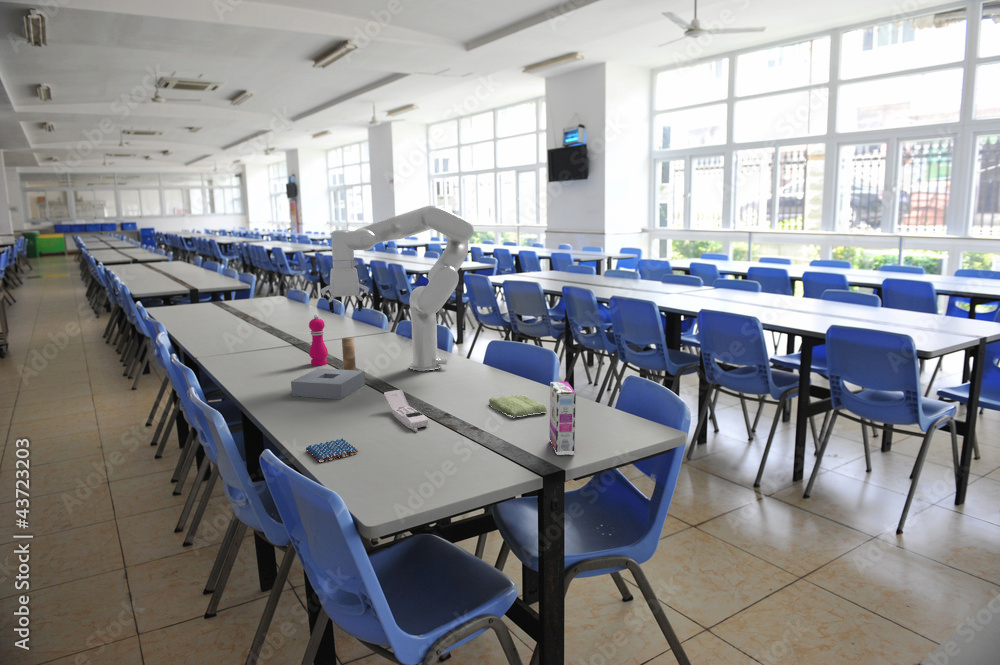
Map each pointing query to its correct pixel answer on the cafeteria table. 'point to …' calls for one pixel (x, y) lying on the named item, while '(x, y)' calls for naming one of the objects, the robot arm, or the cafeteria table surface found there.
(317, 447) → the woven mat
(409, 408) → the mobile phone
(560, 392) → the candy bar box
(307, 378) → the socket block
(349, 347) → the peg
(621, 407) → the cafeteria table surface
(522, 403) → the washcloth
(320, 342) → the pepper mill
